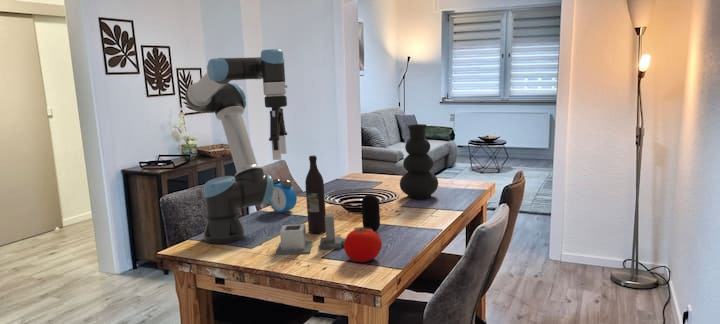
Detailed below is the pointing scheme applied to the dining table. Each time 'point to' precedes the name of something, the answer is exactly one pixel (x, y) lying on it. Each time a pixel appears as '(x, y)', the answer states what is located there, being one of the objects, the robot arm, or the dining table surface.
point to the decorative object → (371, 212)
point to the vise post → (333, 235)
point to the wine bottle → (315, 198)
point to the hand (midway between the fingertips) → (280, 156)
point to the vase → (418, 165)
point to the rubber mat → (306, 251)
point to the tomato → (362, 245)
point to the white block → (293, 237)
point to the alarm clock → (283, 196)
